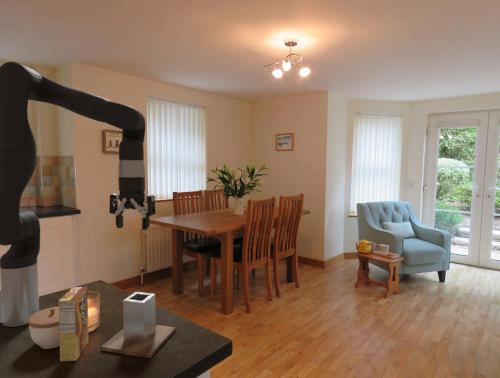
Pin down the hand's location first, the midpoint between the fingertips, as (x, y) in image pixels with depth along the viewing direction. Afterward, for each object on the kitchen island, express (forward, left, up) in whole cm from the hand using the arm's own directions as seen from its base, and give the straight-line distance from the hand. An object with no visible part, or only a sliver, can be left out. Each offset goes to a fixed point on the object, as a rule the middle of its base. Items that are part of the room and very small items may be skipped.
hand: (132, 228), depth 101 cm
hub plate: (+9, -11, -28) cm, 31 cm away
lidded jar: (-13, -18, -28) cm, 36 cm away
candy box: (-4, -20, -28) cm, 35 cm away
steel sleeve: (+9, -11, -27) cm, 31 cm away
